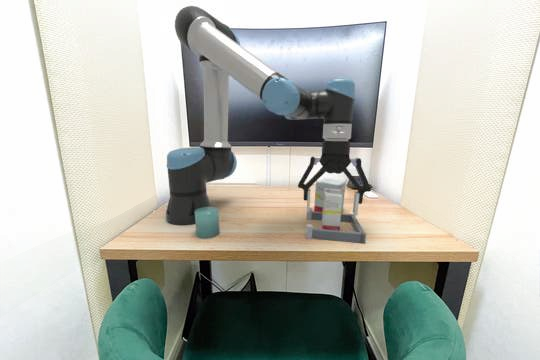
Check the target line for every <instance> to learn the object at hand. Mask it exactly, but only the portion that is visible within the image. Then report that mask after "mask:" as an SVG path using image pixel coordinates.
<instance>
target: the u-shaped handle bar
mask: <svg viewBox="0 0 540 360" xmlns="http://www.w3.org/2000/svg"><path fill="white" fill-rule="evenodd" d="M312 208H313V207H310V209H309V212H307V211H306V220H308V221H309V220H311V221H313V220H314V221H322V213H323V212H314V210H313V209H312ZM340 223H350V225H351V227H352V229H353V231H350V230H349V231H348V230H340V231H339V230H327V229H322V228H313V224H311V223H306V228H305V239H308V240H313V239H314V240H321V241H322V240H324V241H333V242H334V241H335V242H346V243H356V244H366V240H367V239H366V237H367V234H366V232H365V231H364V229H363V227H362V226H361V223H360V221H358V219H357V216H356V215H354V214H353V213H342V212H341V219H340Z"/></svg>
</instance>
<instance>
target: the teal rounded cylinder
mask: <svg viewBox="0 0 540 360" xmlns="http://www.w3.org/2000/svg"><path fill="white" fill-rule="evenodd" d="M219 214H220V213H219V208H217V207H216V206H212V207H202V208H199V209H197V210H195V223H194V224H195V236H196V237H197V238H198V239H201V240H202V239H203V240H206V239H213V238H215V237H217V236H219V234H220V218H219V217H220V216H219Z"/></svg>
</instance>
